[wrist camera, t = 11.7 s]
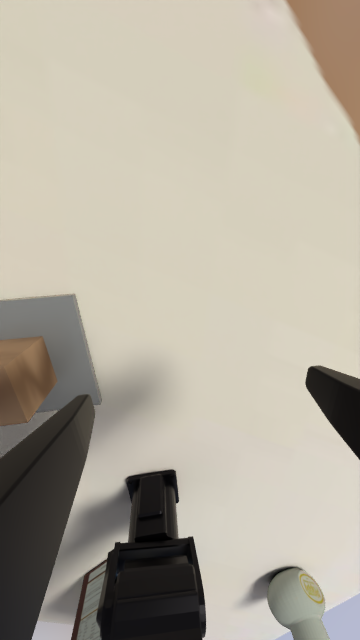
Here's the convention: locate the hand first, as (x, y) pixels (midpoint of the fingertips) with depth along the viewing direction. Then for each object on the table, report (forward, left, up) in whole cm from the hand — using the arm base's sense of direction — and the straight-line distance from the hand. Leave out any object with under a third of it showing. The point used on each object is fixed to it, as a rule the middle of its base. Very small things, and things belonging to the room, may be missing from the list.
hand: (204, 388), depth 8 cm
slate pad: (-4, +15, -12) cm, 20 cm away
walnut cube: (-4, +15, -11) cm, 19 cm away
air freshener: (-61, -19, -12) cm, 65 cm away
